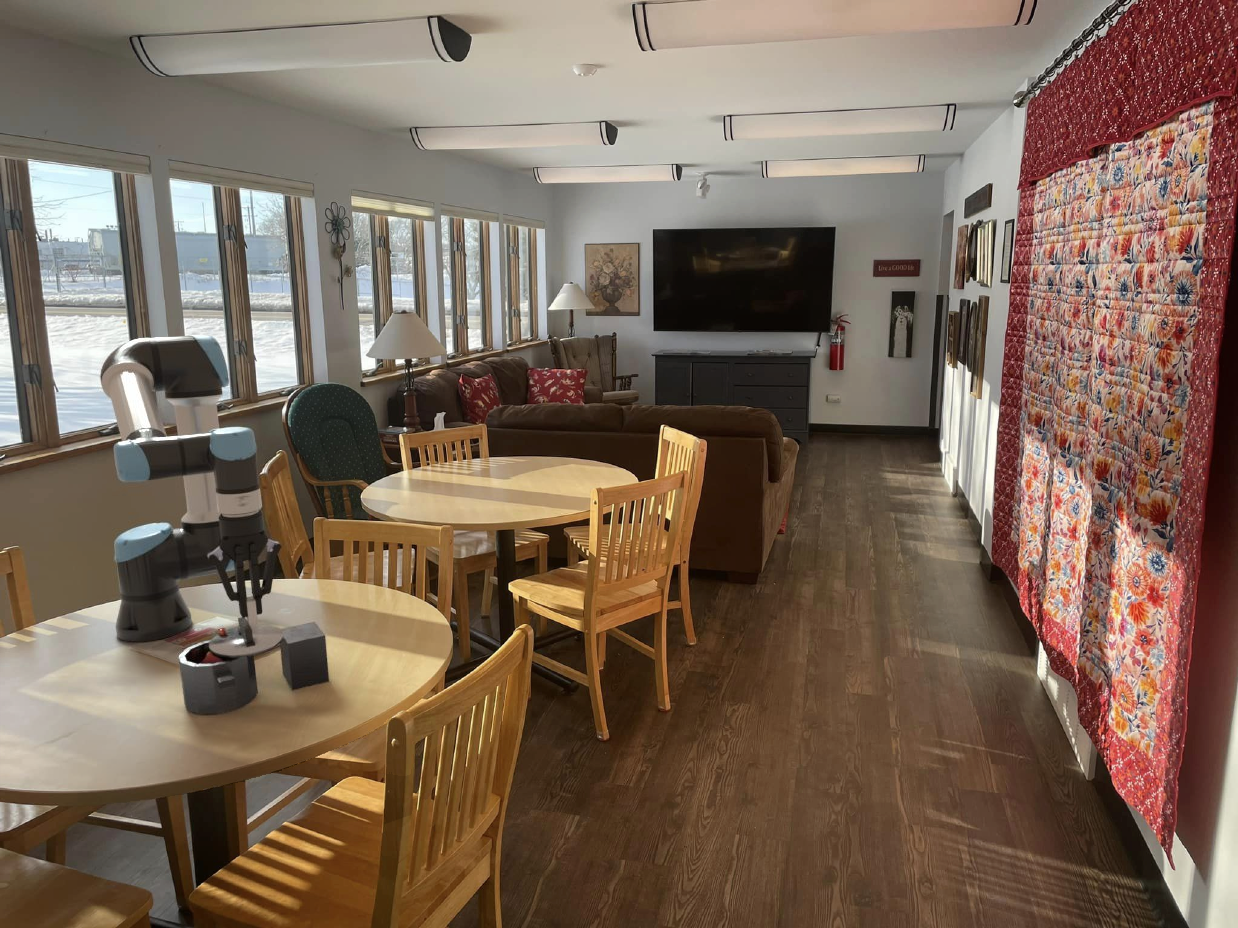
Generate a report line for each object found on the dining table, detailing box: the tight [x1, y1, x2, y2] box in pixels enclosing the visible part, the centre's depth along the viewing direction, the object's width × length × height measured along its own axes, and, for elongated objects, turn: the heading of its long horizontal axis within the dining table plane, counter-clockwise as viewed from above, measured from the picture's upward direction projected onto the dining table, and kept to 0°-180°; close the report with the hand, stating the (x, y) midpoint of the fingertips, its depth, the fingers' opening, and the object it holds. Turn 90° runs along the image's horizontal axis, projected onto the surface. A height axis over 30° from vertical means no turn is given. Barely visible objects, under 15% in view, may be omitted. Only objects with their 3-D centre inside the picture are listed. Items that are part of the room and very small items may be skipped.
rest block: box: [279, 621, 330, 691], centre depth 176 cm, size 8×7×10 cm
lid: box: [209, 617, 283, 658], centre depth 169 cm, size 13×13×4 cm
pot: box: [178, 639, 259, 716], centre depth 168 cm, size 21×12×10 cm, turn 32°
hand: (253, 631), depth 170 cm, fingers closed
